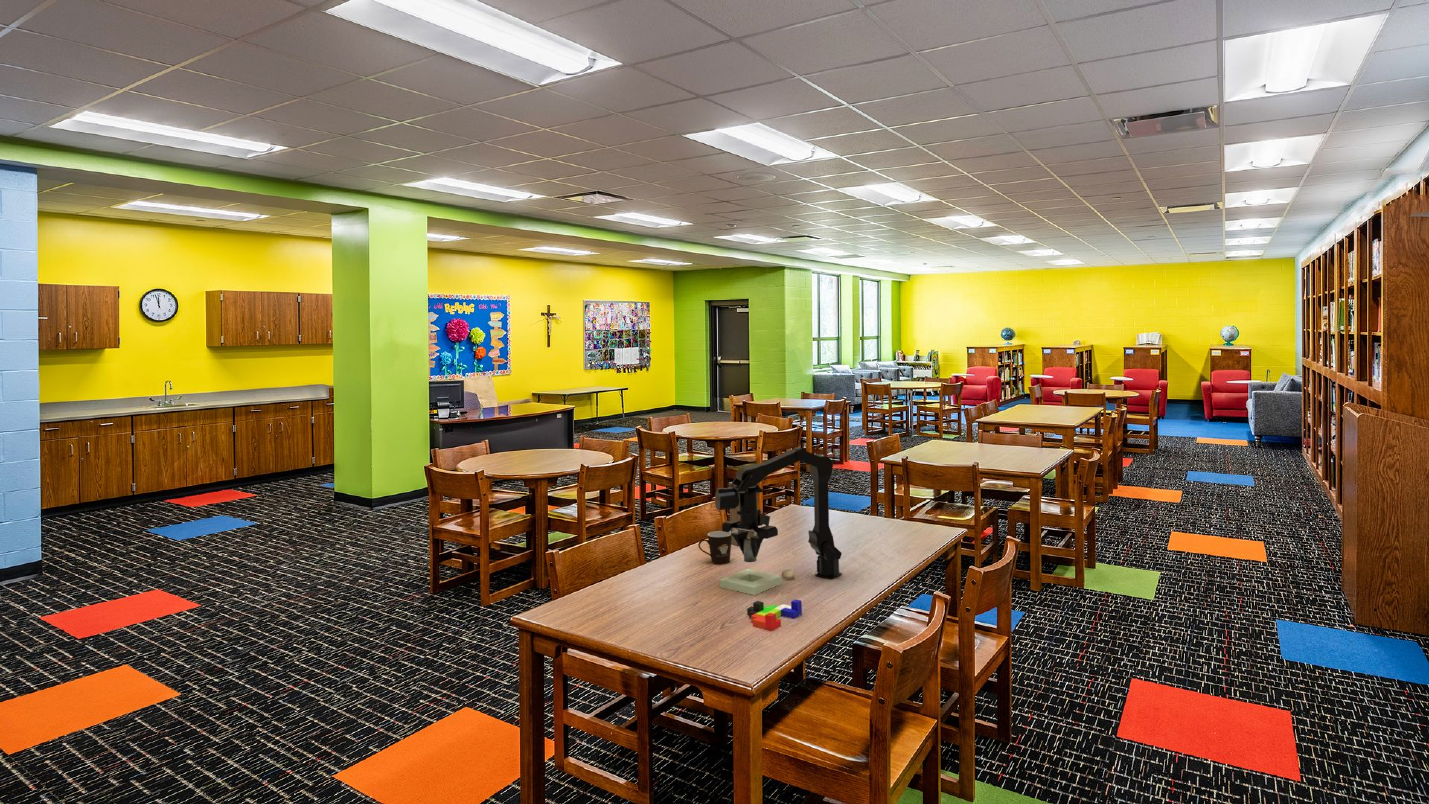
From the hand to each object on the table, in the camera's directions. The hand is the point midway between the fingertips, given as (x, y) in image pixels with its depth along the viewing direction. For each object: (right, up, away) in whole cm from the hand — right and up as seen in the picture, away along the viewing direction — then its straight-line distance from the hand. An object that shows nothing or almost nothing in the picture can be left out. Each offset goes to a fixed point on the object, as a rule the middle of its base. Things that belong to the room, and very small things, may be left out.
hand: (750, 555), depth 247 cm
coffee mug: (-11, -8, +29) cm, 32 cm away
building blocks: (+4, -12, -29) cm, 31 cm away
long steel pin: (0, -2, 0) cm, 2 cm away
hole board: (0, -10, +1) cm, 10 cm away
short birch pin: (+13, -9, +7) cm, 17 cm away
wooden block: (-1, -6, +51) cm, 51 cm away
